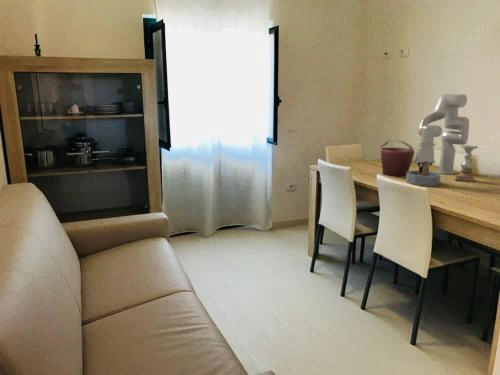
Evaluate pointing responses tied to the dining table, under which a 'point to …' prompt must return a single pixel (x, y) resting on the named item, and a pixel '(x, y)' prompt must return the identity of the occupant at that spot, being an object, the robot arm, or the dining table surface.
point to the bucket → (396, 160)
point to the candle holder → (466, 165)
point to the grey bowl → (423, 178)
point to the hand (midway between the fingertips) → (423, 172)
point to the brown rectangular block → (424, 169)
